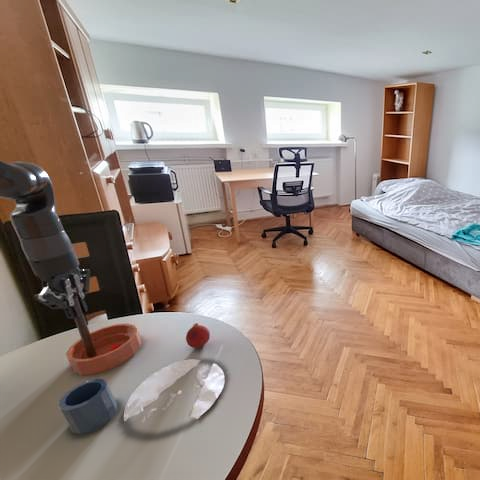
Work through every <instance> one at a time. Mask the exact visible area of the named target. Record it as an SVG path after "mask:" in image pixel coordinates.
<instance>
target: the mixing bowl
mask: <svg viewBox="0 0 480 480" xmlns="http://www.w3.org/2000/svg"><path fill="white" fill-rule="evenodd" d="M90 335H91V338H92V341H93V343H94V346H95V349H96V352H97V355H96V356H94V357H92V358H88V356H87V353H86V350H85V347H84V344H83V342H82V339H81V338H79V339H77V340H76V341H75V342H74V343H73V344H72V345H70V346H69V348H68V350H67V352H66V353H65V355H66V358H67V360H68V362H69V364H70V367H71V368H72V370H73V373H75V374H77V375H78V374H79V375H81V376H87V375H88V376H89V375H96V374H101V373H103V372H107V371H110V370H112V369H114V368H115V367H118V366H119V365H122V364H124V363H125V362H126V361H128V360H130V359H131V358H132V357H133V356H135V355H136V353H137V352H138V351H139V350H140V349H141V347H142V342H143V340H142V337H141V335H140V332H139V329H138V328H137V327H136V325H135V324H132V323H116V324H112V325H107V326H104V327H101V328H99V329H96V330H93V331H92V332H90ZM115 344H121V346H120V347H119V348H117V349H115V350H113V351H111V352H110V349H111V347H112V346H113V345H115Z"/></svg>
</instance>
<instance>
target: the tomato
mask: <svg viewBox="0 0 480 480" xmlns="http://www.w3.org/2000/svg"><path fill="white" fill-rule="evenodd" d="M120 346H121V344H115V345H113V346H112V347H111V349H110V352H111V351H113V350H115V349H117V348H119V347H120Z"/></svg>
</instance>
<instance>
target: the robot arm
mask: <svg viewBox="0 0 480 480" xmlns="http://www.w3.org/2000/svg"><path fill="white" fill-rule="evenodd" d="M0 198H1V199H5V200H13V201H14V204H15V205H14V206H15V208H14V209H13V210H12V211H11V212H10V215H9V219H10V222H11V225H12V227H13V229H14V231H15V233H16V235H17V237H18V240H19V242H20V246H21V249H22V251H23V253H24V255H25V257H26V260H27V261H28V264H29V265H30V268H31V270H32V272H33V275H35V277H37V278H39V279H40V280H41V287H42V290H41V292H40V293H36V294H34V296H33V299H34V300H35V301H37V302H38V303H40V304H43V305H44V306H46V307H48V308H49V309H52V310H56V309H62V310H63V312H64V315H65V316H66V318H67V319H69V320H75V319H77V318H79V317H80V316H81V315H80V313H79V311H78V308H77V306H76V304H74V300H73V298H72V296H77V297H78V300H79V302H80V305H81V308H82V311H83V314H85V313H87V312H88V311H89V309H88V305H87V303H86V300H85V297H86V295H85V294H87V293H89V292H90V280H91V270H90V269H88V268H86V269H80V268H79V266H80V261H79V259H78V256H77V254H76V252H75V249H74V247H73V244H72V242H71V240H70V238H69V236H68V234H67V233H66V231H65V229H64V227H63V224H62V221H61V219H60V217H59V215H58V213H57V209H56V208H57V207H56V198H55V191H54V185H53V182H52V180H51V178H50V176H49V175H48V173H47V172H46V170H45V169H43V168H42V167H40V166H39V165H37V164H35V163H34V162H30V161H23V160H18V161H11V162H5V161H3V160H1V159H0Z"/></svg>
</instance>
